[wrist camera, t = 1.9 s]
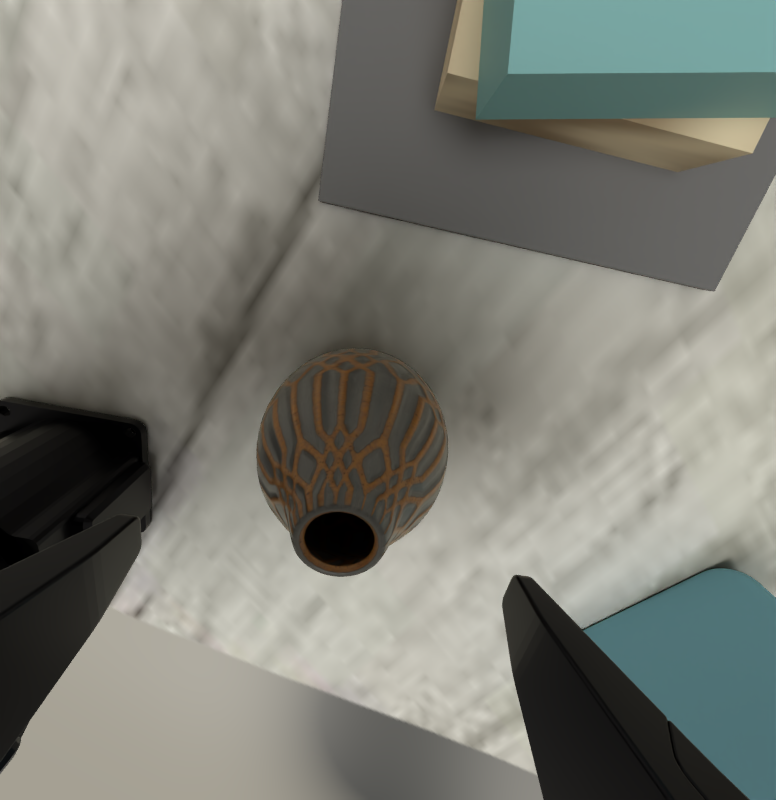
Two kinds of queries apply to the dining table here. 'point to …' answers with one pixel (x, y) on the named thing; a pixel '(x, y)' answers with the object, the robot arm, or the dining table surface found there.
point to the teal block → (627, 59)
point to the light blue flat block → (707, 668)
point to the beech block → (626, 138)
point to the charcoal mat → (515, 165)
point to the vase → (351, 457)
